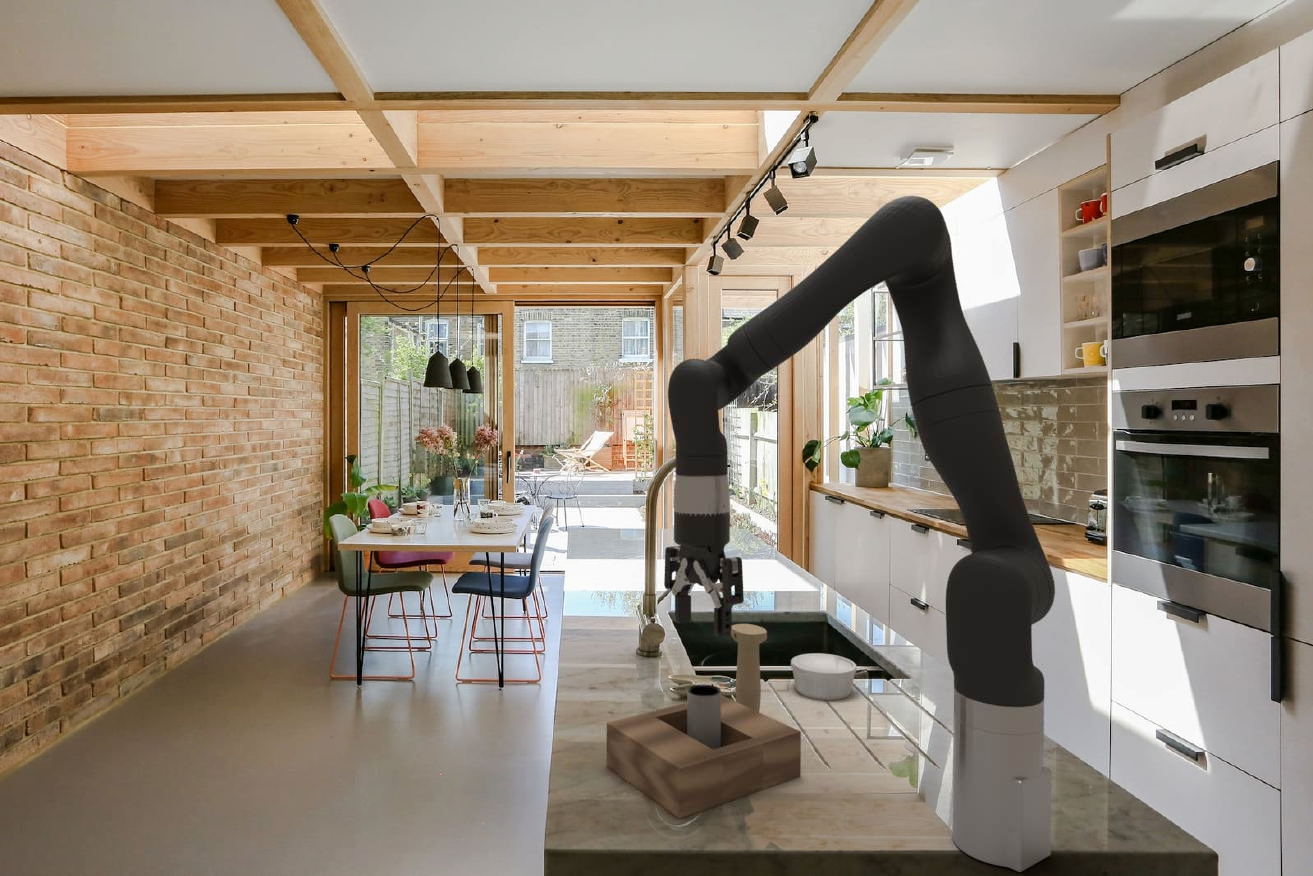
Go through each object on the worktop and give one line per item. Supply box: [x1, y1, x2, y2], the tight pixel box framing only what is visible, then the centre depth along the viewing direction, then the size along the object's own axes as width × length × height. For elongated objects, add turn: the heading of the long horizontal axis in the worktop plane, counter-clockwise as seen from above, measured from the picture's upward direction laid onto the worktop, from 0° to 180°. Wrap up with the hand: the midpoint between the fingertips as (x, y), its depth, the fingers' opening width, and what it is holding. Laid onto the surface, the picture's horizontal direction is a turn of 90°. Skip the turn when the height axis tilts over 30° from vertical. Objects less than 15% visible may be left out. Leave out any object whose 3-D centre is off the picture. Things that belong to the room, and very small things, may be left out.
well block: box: [606, 694, 802, 819], centre depth 105 cm, size 17×20×6 cm
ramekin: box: [790, 652, 857, 701], centre depth 136 cm, size 11×11×5 cm
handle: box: [730, 623, 768, 713], centre depth 121 cm, size 5×6×15 cm
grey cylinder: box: [686, 684, 722, 750], centre depth 105 cm, size 4×4×10 cm
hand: (702, 628), depth 104 cm, fingers open, 8 cm apart
